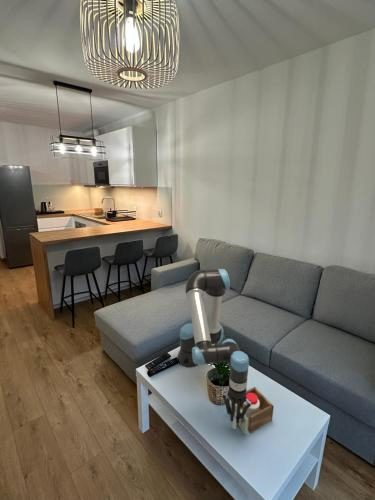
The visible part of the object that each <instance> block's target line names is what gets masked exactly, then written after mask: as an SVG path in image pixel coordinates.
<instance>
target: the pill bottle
mask: <svg viewBox="0 0 375 500" xmlns="http://www.w3.org/2000/svg"><path fill="white" fill-rule="evenodd" d="M246 397H247V399H248V400H251V406H250V407H249V408H248V409H247V411H246V413H245V415H246V417H247V418H248V422H250V416H251V415H253V414H255V413H257V412H259V407H260V402H259V400H258V397H257V395H256V394H254V393H248V394H247V395H246ZM244 406H245V402H244V403H243V409H244Z"/></svg>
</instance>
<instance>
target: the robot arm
mask: <svg viewBox="0 0 375 500" xmlns="http://www.w3.org/2000/svg"><path fill="white" fill-rule="evenodd" d="M227 271H228V270H226V269H224V268H215V269H199V270H196V271H194V272H193V273H192V274H191V275H190V276H189V277H188V279H187V281H186V284H185V296H186V297H187V298H188V304H189V310H190V318H191V323H186V324H184V325H183V326H181V328H180V330H179V331H180V332H179V338H180V339H179V344H180V345H179V348H180V349H179V351H178V354H177V360H178V359H179V362H180V363H179V362H178V363H179V365H180V366H183V367H186V368H193V367H197V366H198V365H207V364H214V363H222V362H223V363H224V362H226V363H227V364H228V367H229V378H228V379H229V382H228V383H229V384H228V391H227V392H226V391H224V392H223V394H222V398H223V401H224V405H225V409H226V413H227V415H230V421H231V422H232V430H236V428H237V425H238V423H239V419H240V418H241V419H243V418H244V415H245V413H246V411H247V409H248V408H249V407H250V406H251V400H248V399H247V397H246V391H247V386H248V376H249V375H248V374H249V366H250V363H249V362H250V359H249V356H248V354H247V353H245V351H242V350H241V349H240V347H239V345H238V344H237V342H236V341H235V340H234V339H232V338H226V339H224V327H223V325H221V323H220V318H221V308H222V302H223V301H222V300H223V296H225V295H226V290H227V291H229V290H230V288H231V283H230V282H231V280H230V276H229V274H228V272H227ZM204 294H206V306H205V303H204ZM222 340H223V341H222ZM221 341H222V342H221ZM220 342H221V343H220ZM219 343H220V344H219ZM215 344H216V345H215ZM231 401H232V404H231ZM244 402H245V406H244V409H243V411H242V413H240V410H241V404H243V403H244ZM235 403H236V404H237V413H235ZM231 405H232V408H231Z"/></svg>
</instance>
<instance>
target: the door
mask: <svg viewBox="0 0 375 500" xmlns="http://www.w3.org/2000/svg"><path fill="white" fill-rule="evenodd" d="M231 404H232V401H231V400H230V407H231V408H232V405H231ZM235 413H237V404H236V403H235ZM240 413H242V409H241V410H240ZM237 425H238V427H239V428H240V430H241V432H242V433H243V434H244V436H246V435H248V418H247V417H246V415H244V418H243V419H241V418H240V419H239V423H237Z"/></svg>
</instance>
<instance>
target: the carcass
mask: <svg viewBox="0 0 375 500" xmlns="http://www.w3.org/2000/svg"><path fill="white" fill-rule="evenodd" d="M248 393H254V394H256V395H257V397H258V400H259V402H260V407H259V412H257V413H255V414H253V415H251V416H250V422H248V430H247V432H249V434H251V433H253V432H255V431H256V430H259V429H260V428H262V427H264V426H265V425H268V423H271V422H272V421H273V415H274V406H275V405H273V403H271V401H269V400H268V399H267V398H266V396H264V394H263V393H262V392H261V391H260V390H259V389H258V388H257V387H256V386H254V387H251V388H250V389H248V390H247V389H246V395H247V394H248ZM241 409H242V411H243V404H241Z"/></svg>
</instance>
